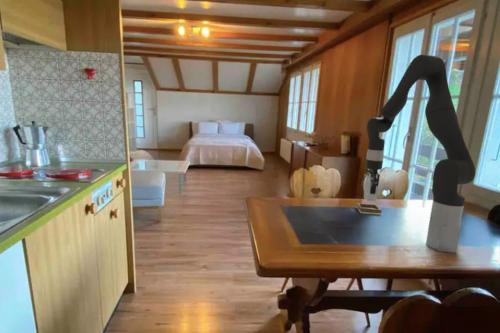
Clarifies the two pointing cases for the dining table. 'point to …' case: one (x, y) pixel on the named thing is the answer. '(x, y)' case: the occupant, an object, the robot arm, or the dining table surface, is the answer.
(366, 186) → the skincare box
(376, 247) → the dining table surface
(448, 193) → the robot arm
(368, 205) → the open birch box
